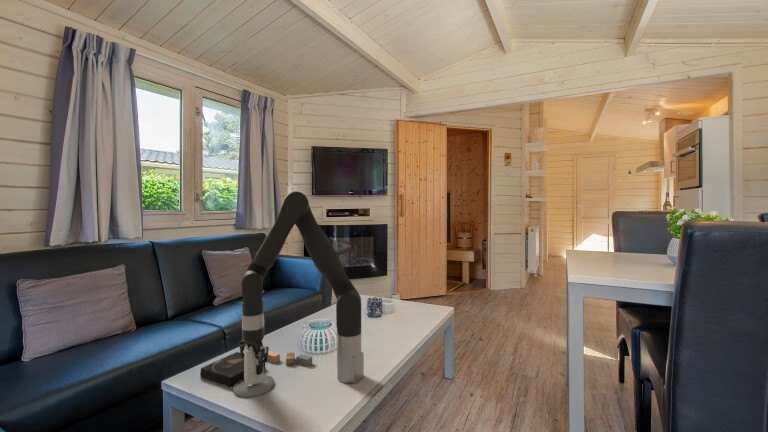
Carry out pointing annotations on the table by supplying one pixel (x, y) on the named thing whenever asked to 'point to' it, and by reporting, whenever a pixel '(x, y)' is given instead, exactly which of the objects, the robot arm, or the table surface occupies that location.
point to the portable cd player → (225, 370)
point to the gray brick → (304, 360)
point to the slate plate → (253, 387)
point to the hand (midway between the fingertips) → (254, 371)
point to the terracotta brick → (273, 357)
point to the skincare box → (251, 368)
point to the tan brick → (290, 358)
